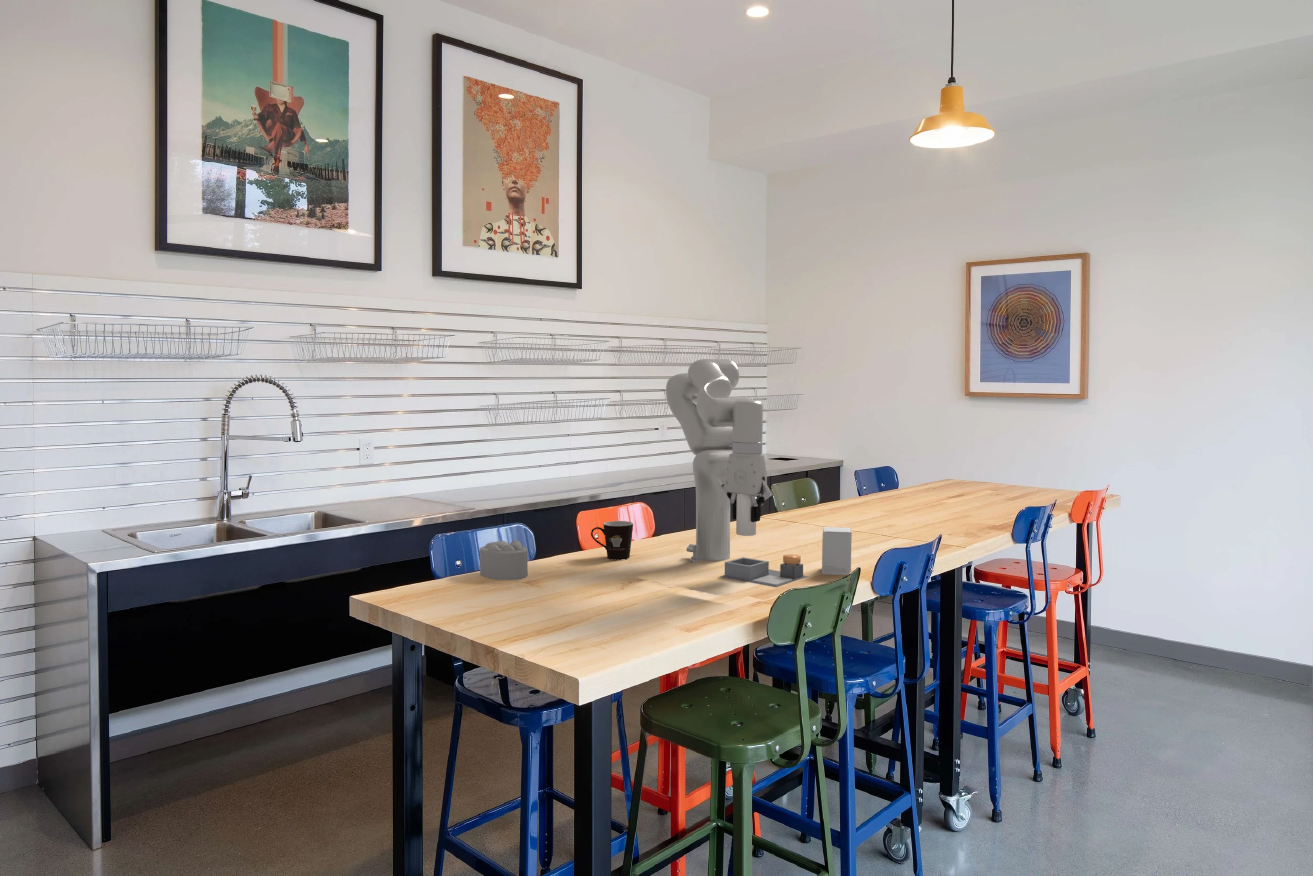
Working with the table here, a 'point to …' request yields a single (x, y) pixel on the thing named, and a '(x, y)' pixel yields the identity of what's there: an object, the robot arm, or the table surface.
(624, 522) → the coffee mug
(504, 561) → the lumpy-topped squat cylinder
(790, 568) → the grey compartment tray
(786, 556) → the glossy orange sphere
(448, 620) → the table surface
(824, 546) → the supplement box
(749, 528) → the cylinder
